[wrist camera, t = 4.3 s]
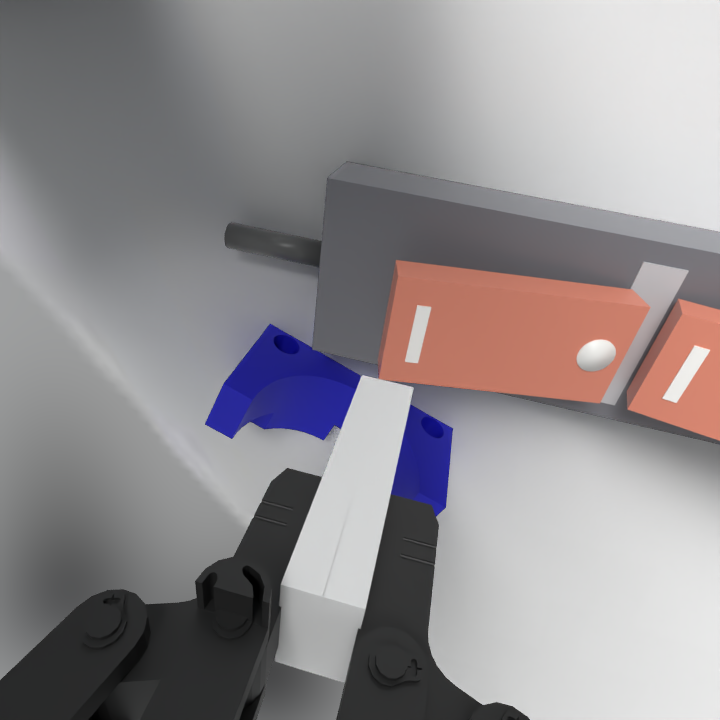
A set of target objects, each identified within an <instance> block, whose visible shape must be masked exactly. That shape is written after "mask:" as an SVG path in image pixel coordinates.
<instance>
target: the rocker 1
mask: <svg viewBox="0 0 720 720" xmlns="http://www.w3.org/2000/svg"><path fill="white" fill-rule="evenodd" d="M650 308H651V307H650V306H649V305H648V304H647V303H646V302H645V301H644V300H643V299H642V298H641V297H640V296H639V295H638V294H637V293H636V292H635V291H634V290H633V289H625V288H617V287H609V286H601V285H593V284H585V283H577V282H569V281H561V280H553V279H545V278H537V277H529V276H521V275H513V274H505V273H497V272H489V271H481V270H473V269H465V268H457V267H449V266H441V265H433V264H425V263H417V262H409V261H401V260H396V262H395V268H394V273H393V279H392V284H391V290H390V295H389V301H388V306H387V312H386V317H385V323H384V328H383V334H382V339H381V344H380V350H379V355H378V375H379V379H381V380H389V381H398V382H407V383H417V384H426V385H435V386H444V387H454V388H463V389H472V390H481V391H491V392H500V393H509V394H518V395H528V396H537V397H546V398H555V399H565V400H574V401H583V402H592V403H600V402H601V400H602V398H603V397H604V395H605V393H606V391H607V389H608V387H609V385H610V383H611V381H612V380H613V378H614V376H615V374H616V372H617V370H618V368H619V366H620V364H621V363H622V361H623V359H624V357H625V355H626V353H627V351H628V349H629V347H630V345H631V344H632V342H633V340H634V338H635V336H636V334H637V332H638V330H639V328H640V327H641V325H642V323H643V321H644V319H645V317H646V315H647V313H648V311H649V310H650Z"/></svg>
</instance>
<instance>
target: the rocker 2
mask: <svg viewBox="0 0 720 720" xmlns="http://www.w3.org/2000/svg"><path fill="white" fill-rule="evenodd" d="M627 409H628V410H631V411H634V412H637V413H640V414H642V415H645V416H648V417H651V418H654V419H657V420H660V421H663V422H666V423H669V424H672V425H675V426H678V427H681V428H684V429H687V430H690V431H693V432H695V433H698V434H701V435H704V436H707V437H710V438H713V439H716V440H719V441H720V310H718V309H715V308H711V307H707V306H704V305H700V304H696V303H693V302H689V301H685V300H682V299H678V300H677V302H676V304H675V306H674V307H673V309H672V311H671V313H670V315H669V316H668V318H667V320H666V322H665V323H664V325H663V327H662V329H661V331H660V332H659V334H658V336H657V338H656V340H655V341H654V343H653V345H652V347H651V349H650V350H649V352H648V354H647V356H646V358H645V359H644V361H643V363H642V365H641V366H640V368H639V370H638V372H637V374H636V375H635V377H634V379H633V381H632V383H631V384H630V386H629V388H628V390H627Z"/></svg>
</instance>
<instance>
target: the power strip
mask: <svg viewBox="0 0 720 720" xmlns="http://www.w3.org/2000/svg"><path fill="white" fill-rule="evenodd" d="M225 245H226V247H227V248H231V249H236V250H240V251H245V252H250V253H254V254H259V255H264V256H269V257H273V258H278V259H283V260H287V261H292V262H297V263H301V264H306V265H311V266H315V267H319V278H318V289H317V300H316V312H315V323H314V334H313V345H312V350H316V351H320V352H324V353H329V354H333V355H337V356H342V357H346V358H350V359H355V360H359V361H363V362H367V363H372V364H376V365H378V355H379V350H380V344H381V339H382V334H383V328H384V323H385V317H386V312H387V306H388V301H389V295H390V290H391V284H392V279H393V273H394V268H395V262H396V260H401V261H409V262H417V263H425V264H433V265H441V266H449V267H457V268H465V269H473V270H481V271H489V272H497V273H505V274H513V275H521V276H529V277H537V278H545V279H553V280H561V281H569V282H577V283H585V284H593V285H601V286H609V287H617V288H625V289H633V290H634V291H635V292H636V293H637V294H638V295H639V296H640V297H641V298H642V299H643V300H644V301H645V302H646V303H647V304H648V305H649V306H650V307H651V308H650V310H649V311H648V313H647V315H646V317H645V319H644V321H643V323H642V325H641V327H640V328H639V330H638V332H637V334H636V336H635V338H634V340H633V342H632V344H631V345H630V347H629V349H628V351H627V353H626V355H625V357H624V359H623V361H622V363H621V364H620V366H619V368H618V370H617V372H616V374H615V376H614V378H613V380H612V381H611V383H610V385H609V387H608V389H607V391H606V393H605V395H604V397H603V398H602V400H601V402H600V403H592V402H583V401H574V400H565V399H555V398H546V397H537V396H528V395H518V394H509V393H501V394H505V395H510V396H514V397H518V398H523V399H527V400H531V401H535V402H540V403H544V404H548V405H553V406H557V407H561V408H566V409H570V410H574V411H579V412H583V413H587V414H591V415H596V416H600V417H604V418H609V419H613V420H617V421H622V422H626V423H630V424H634V425H639V426H643V427H647V428H652V429H656V430H660V431H665V432H669V433H673V434H678V435H682V436H686V437H690V438H695V439H699V440H703V441H708V442H712V443H716V444H720V441H719V440H716V439H713V438H710V437H707V436H704V435H701V434H698V433H695V432H693V431H690V430H687V429H684V428H681V427H678V426H675V425H672V424H669V423H666V422H663V421H660V420H657V419H654V418H651V417H648V416H645V415H642V414H640V413H637V412H634V411H631V410H628V409H627V390H628V388H629V386H630V384H631V383H632V381H633V379H634V377H635V375H636V374H637V372H638V370H639V368H640V366H641V365H642V363H643V361H644V359H645V358H646V356H647V354H648V352H649V350H650V349H651V347H652V345H653V343H654V341H655V340H656V338H657V336H658V334H659V332H660V331H661V329H662V327H663V325H664V323H665V322H666V320H667V318H668V316H669V315H670V313H671V311H672V309H673V307H674V306H675V304H676V302H677V300H678V299H682V300H685V301H689V302H693V303H696V304H700V305H704V306H707V307H711V308H715V309H718V310H720V232H717V231H712V230H707V229H701V228H696V227H691V226H685V225H680V224H675V223H669V222H664V221H659V220H653V219H648V218H643V217H638V216H632V215H627V214H622V213H616V212H611V211H606V210H600V209H595V208H590V207H584V206H579V205H574V204H569V203H563V202H558V201H553V200H547V199H542V198H537V197H531V196H526V195H521V194H516V193H510V192H505V191H500V190H494V189H489V188H484V187H478V186H473V185H468V184H462V183H457V182H452V181H447V180H441V179H436V178H431V177H425V176H420V175H415V174H409V173H404V172H399V171H393V170H388V169H383V168H378V167H372V166H367V165H362V164H356V163H351V162H346V163H345V164H343V165H342V166H341V167H340V168H339V169H337V170H336V171H335V172H334V173H333V174H331V175H330V176H329V177H328V178H327V188H326V199H325V211H324V222H323V233H322V241H319V240H314V239H309V238H304V237H300V236H295V235H290V234H285V233H280V232H275V231H271V230H266V229H261V228H256V227H251V226H246V225H242V224H237V223H232V222H231V223H229V224H228V226H227V228H226V231H225ZM497 393H500V392H497Z"/></svg>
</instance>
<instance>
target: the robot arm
mask: <svg viewBox="0 0 720 720" xmlns="http://www.w3.org/2000/svg"><path fill="white" fill-rule="evenodd" d="M413 389H414V387H410V386H406V385H402V384H398V383H394V382H389V381H385V380H381V379H377V378H373V377H368V376H364V375H362V376H361V379H360V381H359V384H358V386H357V389H356V392H355V394H354V397H353V399H352V402H351V404H350V407H349V410H348V412H347V415H346V417H345V420H344V422H343V425H342V428H341V430H340V433H339V435H338V438H337V440H336V443H335V446H334V448H333V451H332V453H331V456H330V459H329V461H328V464H327V466H326V469H325V471H324V474H323V477H319V476H315V475H312V474H308V473H304V472H300V471H297V470H293V469H289V468H287V469H286V470H284V471H283V472H282V473H281V474H280V475H279V476H277V477H276V478H275V479H274V480H273V481H271V483H270V485H269V487H268V489H267V491H266V493H265V495H264V497H263V499H262V502H261V503H260V505H259V507H258V509H257V511H256V513H255V516H254V518H253V519H252V521H251V523H250V525H249V527H248V529H247V531H246V533H245V535H244V537H243V539H242V541H241V543H240V545H239V547H238V549H237V551H236V553H235V555H234V557H231V558H227V559H223V560H219V561H217V562H215V563H214V564H212V565H211V566H209V567H207V568H206V569H205V570H204V571H203V572H202V573H201V575H200V576H199V577H198V579H197V580H196V581H195V584H196V594H197V598H196V599H193V600H191V601H186V602H179V603H164V604H145V603H144V602H143V601H142V600H141V599H140V598H139V597H138V596H137V595H136V594H135V593H132V592H129V591H126V590H107V591H105V592H102V593H99V594H97V595H94V596H91V597H90V598H89V599H87V600H86V601H85V602H83V603H82V604H80V605H79V606H78V607H76V609H74V610H73V611H72V612H71V613H70V614H69V615H68V616H67V617H66V618H65V619H64V620H63V621H62V622H61V623H60V624H59V625H58V626H57V627H56V628H54V629H53V630H52V631H51V632H50V633H49V634H48V635H47V636H46V637H45V638H44V639H43V640H42V641H41V642H40V643H39V644H38V645H37V646H36V647H35V648H33V650H31V651H30V652H29V653H28V654H27V655H26V656H25V657H24V658H23V659H22V660H21V661H20V662H19V663H18V664H17V665H16V666H15V667H14V668H12V669H11V670H10V671H9V672H8V673H7V674H6V675H5V676H4V677H3V678H2V679H1V680H0V720H256V719H257V716H258V713H259V710H260V707H261V704H262V702H263V698H264V696H265V690H266V683H267V677H268V674H269V671H270V668H271V666H272V663H273V660H274V657H275V661H276V662H279V663H282V664H285V665H288V666H291V667H295V668H298V669H301V670H304V671H308V672H311V673H314V674H317V675H321V676H324V677H327V678H330V679H334V680H337V681H340V682H343V683H345V685H344V689H343V694H342V698H341V703H340V707H339V711H338V715H337V719H336V720H530V719H529V718H528V717H527V716H525V715H524V714H523V713H521V712H520V711H518V710H517V709H515V708H514V707H513V706H509V705H505V704H501V703H497V702H496V703H491V704H487V705H482V704H480V703H479V702H477V701H476V700H475V699H473V698H472V697H470V696H469V695H468V694H466V693H465V692H463V691H462V690H461V689H459V688H458V687H456V686H455V685H454V684H453V683H452V682H451V681H449V680H448V679H447V678H446V677H445V676H444V675H443V673H442V672H441V671H440V669H439V668H438V667H437V665H436V663H435V661H434V659H433V657H432V655H431V651H430V647H429V643H428V626H429V616H430V606H431V597H432V587H433V577H434V564H435V557H436V546H437V537H438V527H439V524H438V522H437V519H436V516H435V513H434V510H433V507H432V505H430V504H426V503H423V502H419V501H415V500H411V499H407V498H404V497H400V496H396V495H392V494H391V490H392V485H393V481H394V476H395V472H396V467H397V463H398V458H399V453H400V449H401V444H402V440H403V435H404V430H405V426H406V421H407V417H408V412H409V407H410V403H411V398H412V394H413ZM275 654H276V655H275Z"/></svg>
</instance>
